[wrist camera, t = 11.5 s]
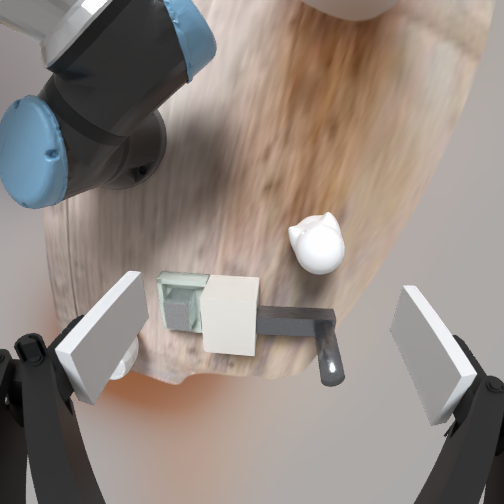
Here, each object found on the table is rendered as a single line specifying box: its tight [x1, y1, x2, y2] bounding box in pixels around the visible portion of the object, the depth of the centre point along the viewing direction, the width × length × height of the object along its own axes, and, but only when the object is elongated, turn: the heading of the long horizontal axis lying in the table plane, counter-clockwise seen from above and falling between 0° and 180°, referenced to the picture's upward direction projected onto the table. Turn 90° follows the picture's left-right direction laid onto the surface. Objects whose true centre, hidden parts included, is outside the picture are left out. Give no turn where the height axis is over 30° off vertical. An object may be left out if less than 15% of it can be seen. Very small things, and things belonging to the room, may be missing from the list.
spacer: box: [163, 288, 197, 331], centre depth 48 cm, size 5×5×4 cm
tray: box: [157, 271, 210, 333], centre depth 49 cm, size 8×10×3 cm
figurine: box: [288, 212, 345, 274], centre depth 39 cm, size 7×8×12 cm
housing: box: [200, 275, 260, 356], centre depth 47 cm, size 8×10×8 cm
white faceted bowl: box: [110, 336, 139, 380], centre depth 51 cm, size 12×12×10 cm
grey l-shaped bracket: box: [200, 306, 345, 387], centre depth 40 cm, size 20×3×14 cm, turn 89°
